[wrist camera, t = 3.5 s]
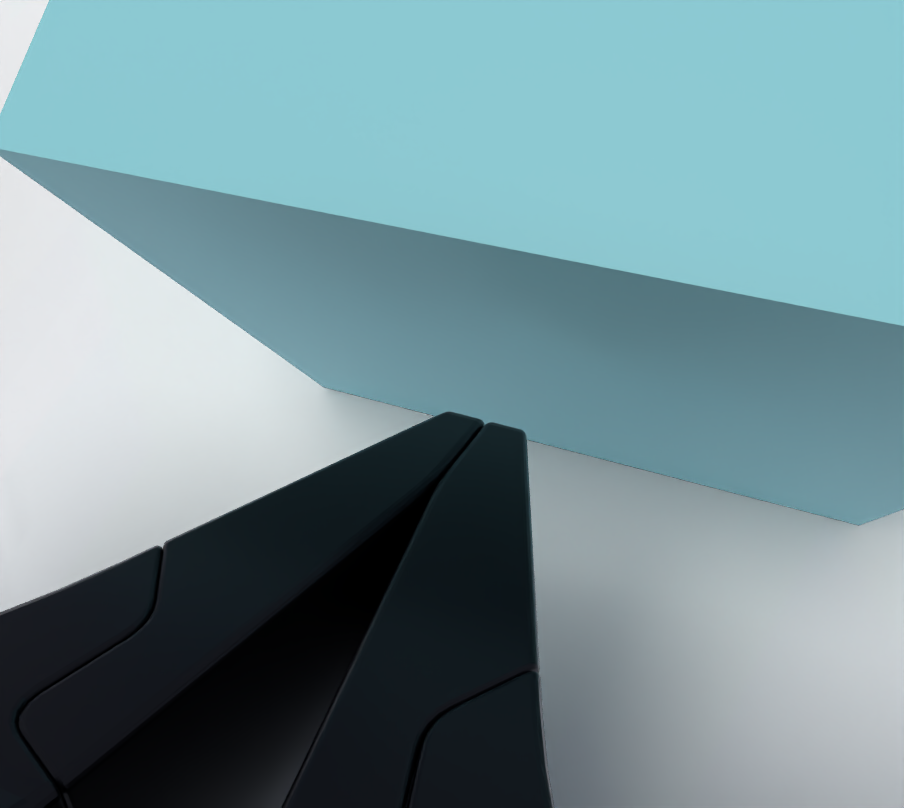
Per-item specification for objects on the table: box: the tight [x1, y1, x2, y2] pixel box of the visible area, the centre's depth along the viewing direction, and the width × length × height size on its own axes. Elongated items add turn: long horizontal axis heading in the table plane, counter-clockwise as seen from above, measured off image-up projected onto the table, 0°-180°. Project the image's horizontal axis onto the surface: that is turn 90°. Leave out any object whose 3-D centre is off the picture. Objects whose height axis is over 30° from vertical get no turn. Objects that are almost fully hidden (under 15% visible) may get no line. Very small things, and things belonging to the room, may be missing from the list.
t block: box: [0, 0, 904, 525], centre depth 12 cm, size 10×10×9 cm
